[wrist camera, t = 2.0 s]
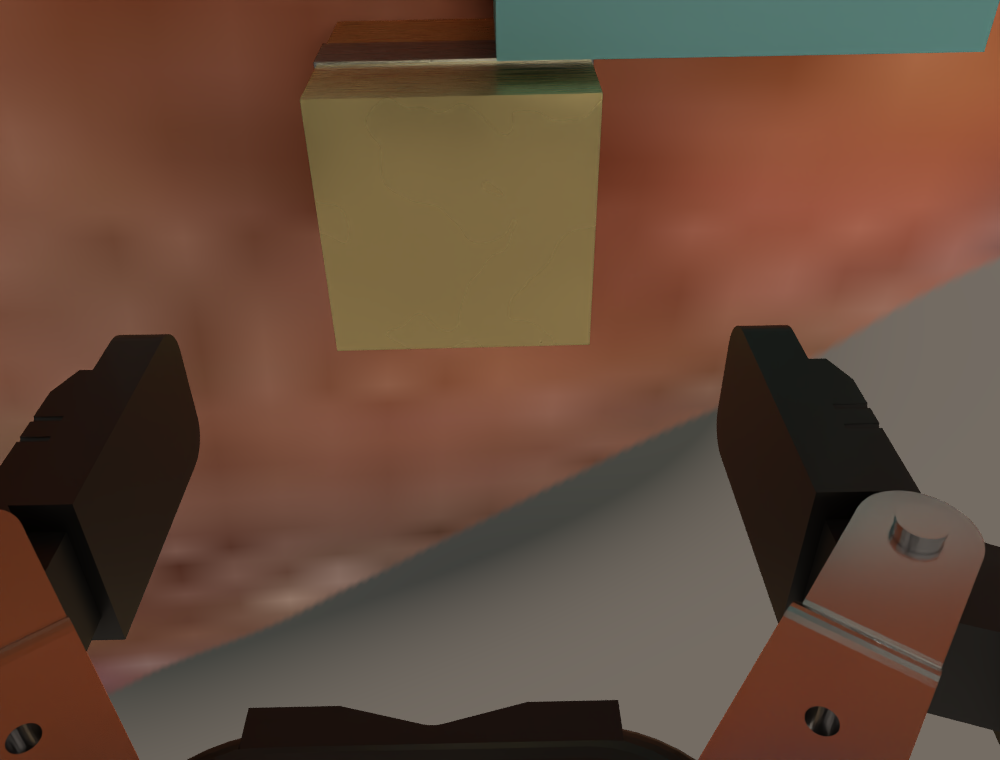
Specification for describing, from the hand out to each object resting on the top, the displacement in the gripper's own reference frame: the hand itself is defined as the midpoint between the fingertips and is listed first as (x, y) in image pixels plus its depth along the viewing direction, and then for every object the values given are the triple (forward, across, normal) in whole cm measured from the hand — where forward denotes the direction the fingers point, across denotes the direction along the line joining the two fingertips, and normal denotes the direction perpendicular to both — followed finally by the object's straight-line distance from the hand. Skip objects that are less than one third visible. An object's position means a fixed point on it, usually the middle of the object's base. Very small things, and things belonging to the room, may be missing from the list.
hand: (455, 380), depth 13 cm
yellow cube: (+9, 0, 0) cm, 9 cm away
